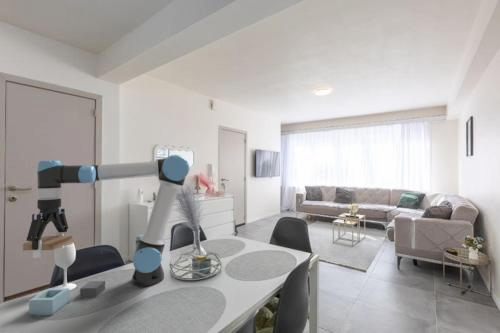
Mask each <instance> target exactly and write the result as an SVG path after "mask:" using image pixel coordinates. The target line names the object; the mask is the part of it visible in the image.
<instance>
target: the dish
mask: <svg viewBox="0 0 500 333" xmlns="http://www.w3.org/2000/svg"><path fill="white" fill-rule="evenodd" d="M69 303H70V291H69V288H61V289H55V288H47V289H45V290H43V291H41V292H39V293H38V294H36V295H35V296H33V297H32V298H30V299H29V300H28V316H29V315H36V316H54V315H55V314H56V313H58V312H59V311H60V310H62V309H63V308H64V307H65V306H67V305H68V304H69Z"/></svg>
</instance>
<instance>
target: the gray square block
mask: <svg viewBox="0 0 500 333" xmlns="http://www.w3.org/2000/svg"><path fill="white" fill-rule="evenodd" d="M79 289H80V290H79V293H80V294H79V297H80V298H97V297H99V296H100V295H101V294H102V292H104V291H105V290H106V280H89V281H88V282H87V283H85V284H84V285H83V286H81V287H80V288H79Z"/></svg>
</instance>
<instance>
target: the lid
mask: <svg viewBox="0 0 500 333" xmlns="http://www.w3.org/2000/svg"><path fill="white" fill-rule="evenodd" d="M40 240H42V251H55V249H56V248H59V247H61V246H63V245H66V244H68V243H70V242H73V235H64V236H56V235H45V236H41V238H40ZM22 250H23V251H33V250H32V241H27V242H24V243H23V244H22Z"/></svg>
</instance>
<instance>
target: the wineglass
mask: <svg viewBox="0 0 500 333" xmlns="http://www.w3.org/2000/svg"><path fill="white" fill-rule="evenodd" d="M76 254H77V251H76V246H75V243H74V242H73V241H72V242H70V243H68V244H66V245H64V248H56V249H54V255H53V256H54V264H55V266H57V267H59V268H61V269H63V284H62V285H59V286H56V287H55V288H54V289H61V288H69V292H71V291H73V290H74V289H76V287H77V284H75V283H70V282H69V283H68V280H67V279H68V277H67V274H68V273H67V271H68V268H69V267H70V266H71V265H73V263H74V262H75V261H76V257H77V255H76Z"/></svg>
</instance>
